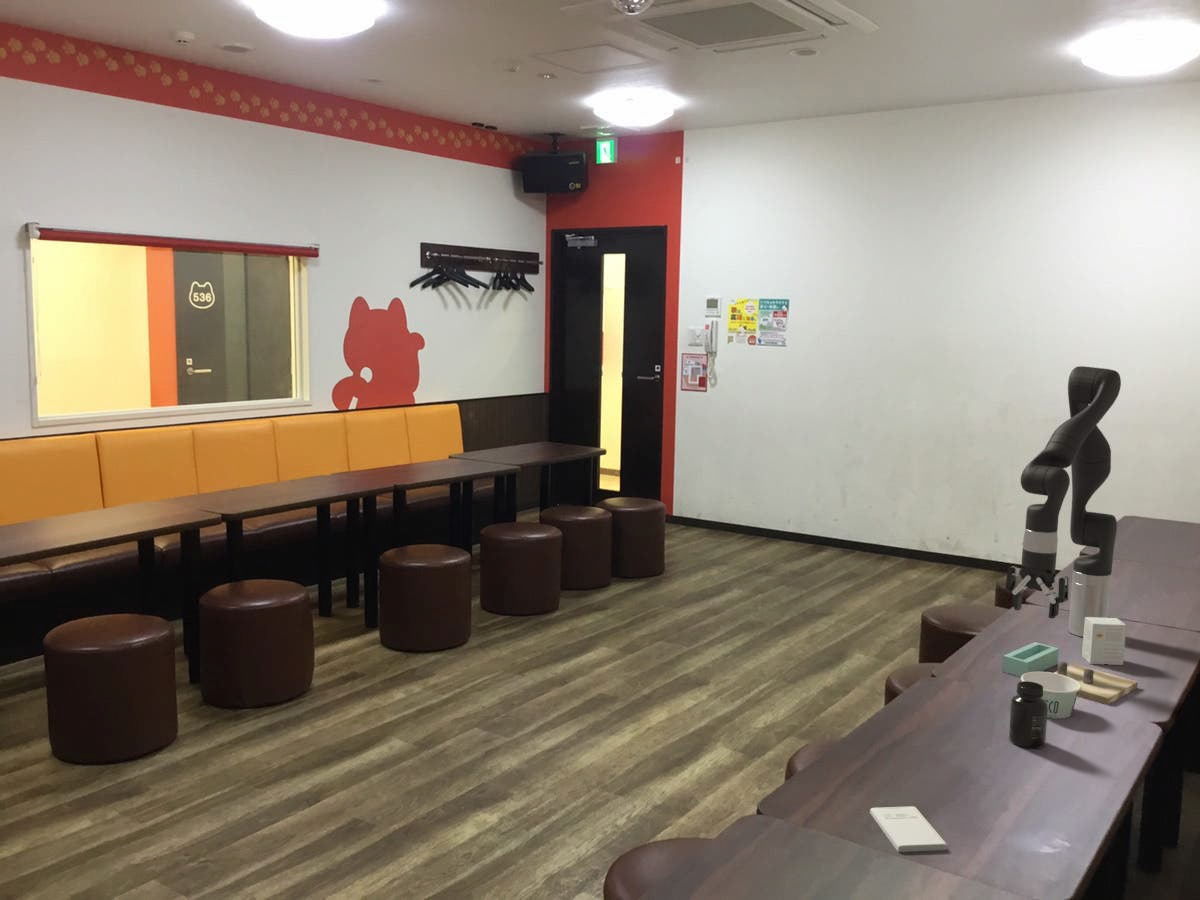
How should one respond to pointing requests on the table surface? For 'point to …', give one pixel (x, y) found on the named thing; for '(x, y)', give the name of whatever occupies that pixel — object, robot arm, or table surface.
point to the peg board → (1097, 683)
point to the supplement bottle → (1028, 716)
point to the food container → (1056, 692)
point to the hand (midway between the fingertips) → (1034, 613)
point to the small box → (1104, 640)
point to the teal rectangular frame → (1030, 659)
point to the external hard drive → (907, 829)
